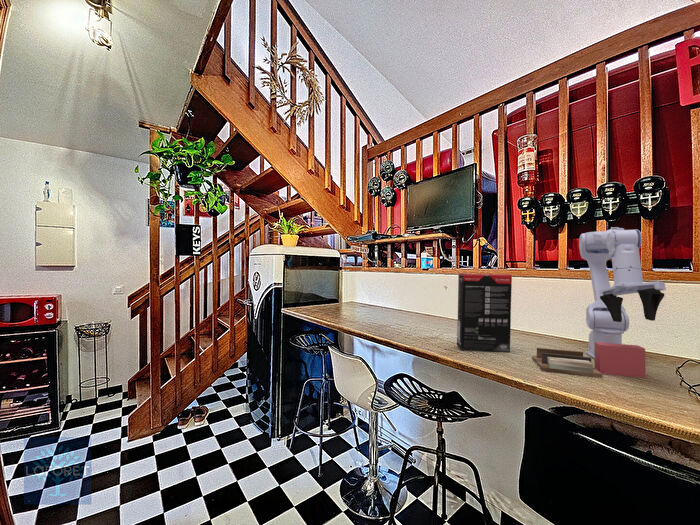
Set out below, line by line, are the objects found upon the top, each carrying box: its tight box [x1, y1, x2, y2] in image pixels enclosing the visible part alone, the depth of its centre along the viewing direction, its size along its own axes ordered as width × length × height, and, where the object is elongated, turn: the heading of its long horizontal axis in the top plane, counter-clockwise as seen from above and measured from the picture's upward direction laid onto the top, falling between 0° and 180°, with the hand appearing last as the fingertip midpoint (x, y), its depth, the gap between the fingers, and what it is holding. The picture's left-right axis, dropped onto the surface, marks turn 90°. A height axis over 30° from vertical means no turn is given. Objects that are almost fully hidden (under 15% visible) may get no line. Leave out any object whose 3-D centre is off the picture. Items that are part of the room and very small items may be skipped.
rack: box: [531, 347, 604, 379], centre depth 87 cm, size 12×14×4 cm
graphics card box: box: [456, 273, 513, 353], centre depth 106 cm, size 17×7×27 cm, turn 84°
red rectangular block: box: [594, 342, 646, 379], centre depth 83 cm, size 4×10×8 cm, turn 70°
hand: (633, 320), depth 77 cm, fingers open, 7 cm apart
